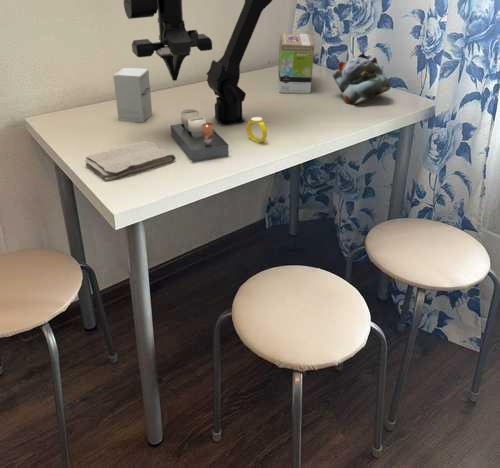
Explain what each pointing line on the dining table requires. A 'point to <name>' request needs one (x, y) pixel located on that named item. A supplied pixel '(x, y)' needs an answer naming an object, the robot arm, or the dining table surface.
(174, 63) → the robot arm
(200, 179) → the dining table surface
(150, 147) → the washcloth
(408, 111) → the dining table surface
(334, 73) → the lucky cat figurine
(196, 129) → the knob
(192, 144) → the dark grey tray
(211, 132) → the orange bulb
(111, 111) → the dining table surface
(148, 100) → the supplement box
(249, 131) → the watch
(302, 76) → the tea box
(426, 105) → the dining table surface
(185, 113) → the knob
